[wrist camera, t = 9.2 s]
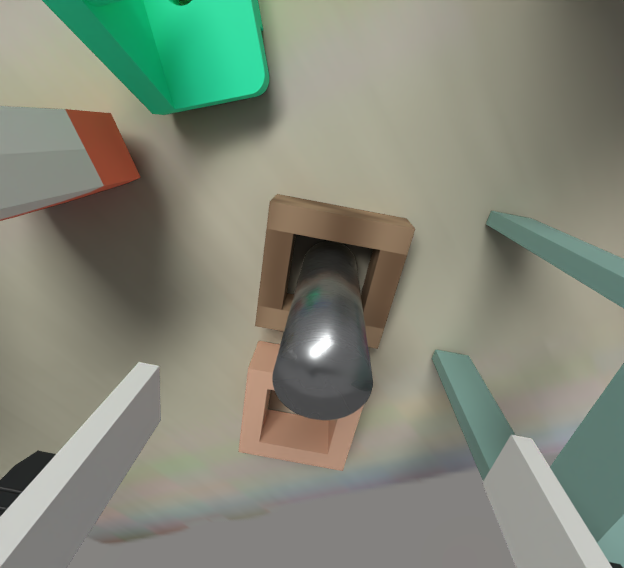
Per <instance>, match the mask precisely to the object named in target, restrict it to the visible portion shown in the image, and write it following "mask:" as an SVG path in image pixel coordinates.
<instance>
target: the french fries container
mask: <svg viewBox="0 0 624 568" xmlns="http://www.w3.org/2000/svg"><path fill="white" fill-rule="evenodd" d="M138 178H141V177H140V175H139V173H138V171H137V169H136V166H135V164H134V162H133V160H132V158H131V156H130V153H129V151H128V149H127V147H126V145H125V143H124V141H123V138H122V136H121V134H120V132H119V130H118V128H117V125H116V123H115V121H114V119H113V117H112V115H111V113H101V112H90V111H79V110H68V109H50V108H30V107H11V106H0V221H2V220H6V219H9V218H13V217H17V216H20V215H24V214H27V213H31V212H34V211H38V210H41V209H45V208H48V207H52V206H55V205H59V204H62V203H66V202H69V201H72V200H75V199H79V198H82V197H85V196H88V195H91V194H95V193H98V192H101V191H104V190H107V189H111V188H114V187H117V186H120V185H123V184H127V183H129V182H131V181H134V180H136V179H138Z"/></svg>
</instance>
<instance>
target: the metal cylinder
mask: <svg viewBox="0 0 624 568" xmlns="http://www.w3.org/2000/svg"><path fill="white" fill-rule="evenodd" d="M272 381H273V387H274V390H275V392H276V395H277V396H278V398H279V399H280V401H281V402H282V403H283V404H284V405H285V406H286V407H287V408H289V409H290V410H291V411H293V412H295V413H297V414H299V415H301V416H304V417H307V418H310V419H316V420H334V419H339V418H343V417H346V416H348V415H350V414H352V413H354V412H356V411H357V410H359V409H360V408H361V407H362V406H363V405H364V404H365V403H366V401H367V400H368V398H369V396H370V394H371V391H372V386H373V379H372V371H371V364H370V357H369V350H368V343H367V336H366V329H365V322H364V315H363V307H362V300H361V293H360V286H359V279H358V272H357V265H356V260H355V257H354V255H353V253H352V252H351V250H350V249H349V248H348V247H346V246H345V245H343V244H342V243H339V242H335V241H323V242H320V243H317V244H316V245H314V246H313V247H311V248H310V249H309V250H308V252H307V253H306V255H305V257H304V260H303V264H302V267H301V271H300V275H299V278H298V282H297V286H296V289H295V293H294V297H293V300H292V304H291V308H290V311H289V315H288V319H287V322H286V326H285V330H284V333H283V337H282V341H281V344H280V348H279V352H278V355H277V359H276V363H275V366H274V370H273V376H272Z"/></svg>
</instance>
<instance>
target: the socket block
mask: <svg viewBox="0 0 624 568" xmlns="http://www.w3.org/2000/svg"><path fill="white" fill-rule="evenodd" d="M414 231H415V228H414V227H413V226H412V224H411V223H410V222H409V221H408V219H406V218H401V217H395V216H390V215H385V214H380V213H374V212H369V211H364V210H358V209H353V208H348V207H343V206H337V205H332V204H327V203H321V202H316V201H311V200H306V199H300V198H295V197H290V196H285V195H279V194H277V195H276V196H275V197H274V198H273V199H272V200H271V201H270V205H269V213H268V222H267V230H266V239H265V247H264V255H263V264H262V272H261V281H260V289H259V298H258V306H257V315H256V323H255V326H258V327H263V328H269V329H274V330H280V331H284V330H285V326H286V322H287V319H288V315H289V311H290V308H291V304H292V300H293V297H294V294H289V293H287V290H288V284H289V277H290V271H291V265H292V258H293V252H294V246H295V239H296V234H298V235H303V236H309V237H314V238H319V239H324V240H330V241H335V242H340V243H346V244H351V245H356V246H362V247H367V248H372V249H373V251H372V255H371V259H370V262H369V266H368V270H367V274H366V278H365V281H364V285H363V289H362V293H361V300H362V307H363V315H364V322H365V329H366V336H367V343H368V347H371V348H376V349H378V347H379V343H380V340H381V337H382V334H383V331H384V327H385V324H386V321H387V318H388V315H389V311H390V308H391V305H392V302H393V299H394V295H395V292H396V289H397V286H398V283H399V279H400V276H401V273H402V270H403V266H404V263H405V260H406V257H407V254H408V250H409V247H410V244H411V241H412V238H413V234H414Z"/></svg>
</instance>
